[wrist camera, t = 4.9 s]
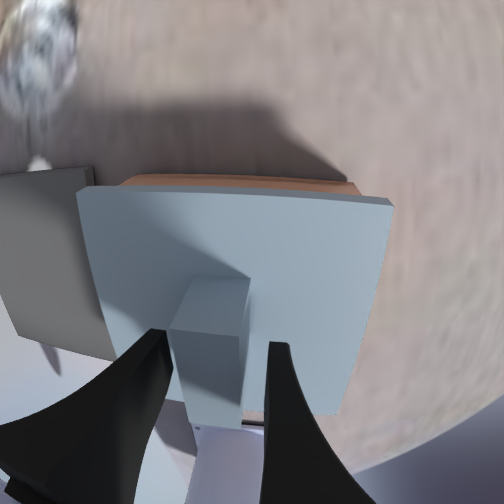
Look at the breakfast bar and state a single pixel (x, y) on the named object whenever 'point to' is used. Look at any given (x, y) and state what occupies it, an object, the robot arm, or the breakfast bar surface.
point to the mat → (50, 262)
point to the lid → (237, 285)
